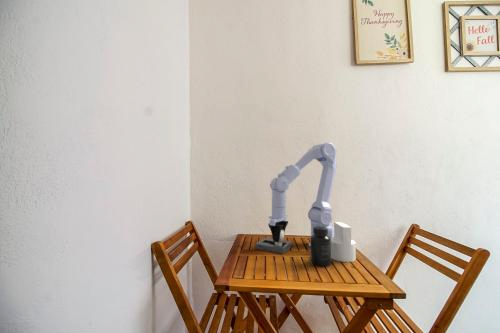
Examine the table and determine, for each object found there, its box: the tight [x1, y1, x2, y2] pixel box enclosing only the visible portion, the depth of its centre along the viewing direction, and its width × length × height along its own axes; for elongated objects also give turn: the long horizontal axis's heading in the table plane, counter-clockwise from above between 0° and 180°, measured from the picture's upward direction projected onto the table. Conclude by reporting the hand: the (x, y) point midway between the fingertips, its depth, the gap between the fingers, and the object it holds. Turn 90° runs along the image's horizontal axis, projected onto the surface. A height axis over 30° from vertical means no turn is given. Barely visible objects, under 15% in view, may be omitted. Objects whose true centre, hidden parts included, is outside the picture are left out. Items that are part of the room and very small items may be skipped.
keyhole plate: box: [254, 237, 292, 255], centre depth 92 cm, size 12×10×2 cm
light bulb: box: [275, 230, 285, 246], centre depth 92 cm, size 4×4×7 cm
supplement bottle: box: [309, 227, 332, 268], centre depth 77 cm, size 7×7×12 cm
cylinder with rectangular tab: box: [331, 221, 357, 263], centre depth 83 cm, size 9×9×12 cm
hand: (278, 240), depth 92 cm, fingers closed on light bulb, 4 cm apart
